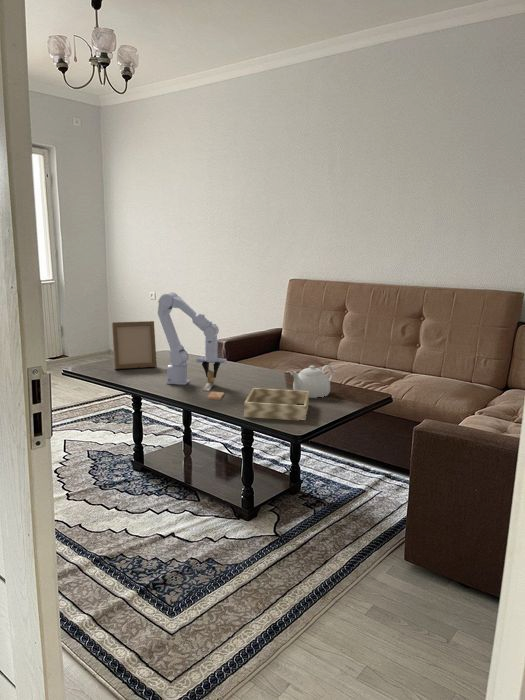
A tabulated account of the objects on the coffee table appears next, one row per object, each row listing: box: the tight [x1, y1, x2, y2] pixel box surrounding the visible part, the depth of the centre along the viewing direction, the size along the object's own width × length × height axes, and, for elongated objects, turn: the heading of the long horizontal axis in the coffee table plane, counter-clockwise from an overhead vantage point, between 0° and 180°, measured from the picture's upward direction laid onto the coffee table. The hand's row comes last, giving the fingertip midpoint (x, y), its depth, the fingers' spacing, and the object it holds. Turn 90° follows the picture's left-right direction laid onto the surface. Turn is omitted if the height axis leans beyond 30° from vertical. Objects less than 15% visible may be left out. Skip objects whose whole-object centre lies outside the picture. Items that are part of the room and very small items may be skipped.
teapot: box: [290, 364, 335, 399], centre depth 251 cm, size 19×18×14 cm
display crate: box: [243, 387, 310, 421], centre depth 225 cm, size 24×22×6 cm
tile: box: [206, 391, 225, 401], centre depth 243 cm, size 6×2×8 cm
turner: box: [202, 369, 216, 392], centre depth 257 cm, size 3×13×6 cm, turn 172°
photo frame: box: [111, 320, 158, 370], centre depth 296 cm, size 15×22×25 cm
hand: (211, 377), depth 262 cm, fingers closed on turner, 3 cm apart
